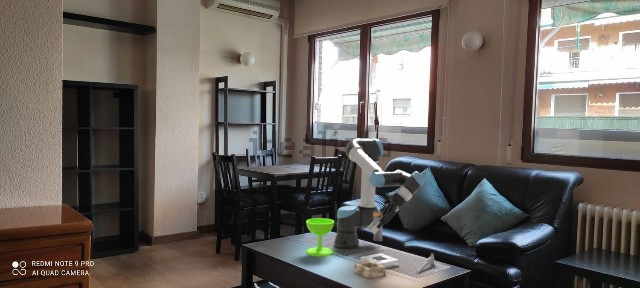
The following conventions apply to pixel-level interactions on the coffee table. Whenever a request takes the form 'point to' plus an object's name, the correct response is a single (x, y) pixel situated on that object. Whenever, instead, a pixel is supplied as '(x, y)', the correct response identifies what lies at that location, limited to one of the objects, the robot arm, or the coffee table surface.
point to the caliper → (426, 263)
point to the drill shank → (377, 217)
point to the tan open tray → (370, 269)
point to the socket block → (381, 260)
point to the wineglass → (320, 235)
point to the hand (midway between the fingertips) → (370, 231)
